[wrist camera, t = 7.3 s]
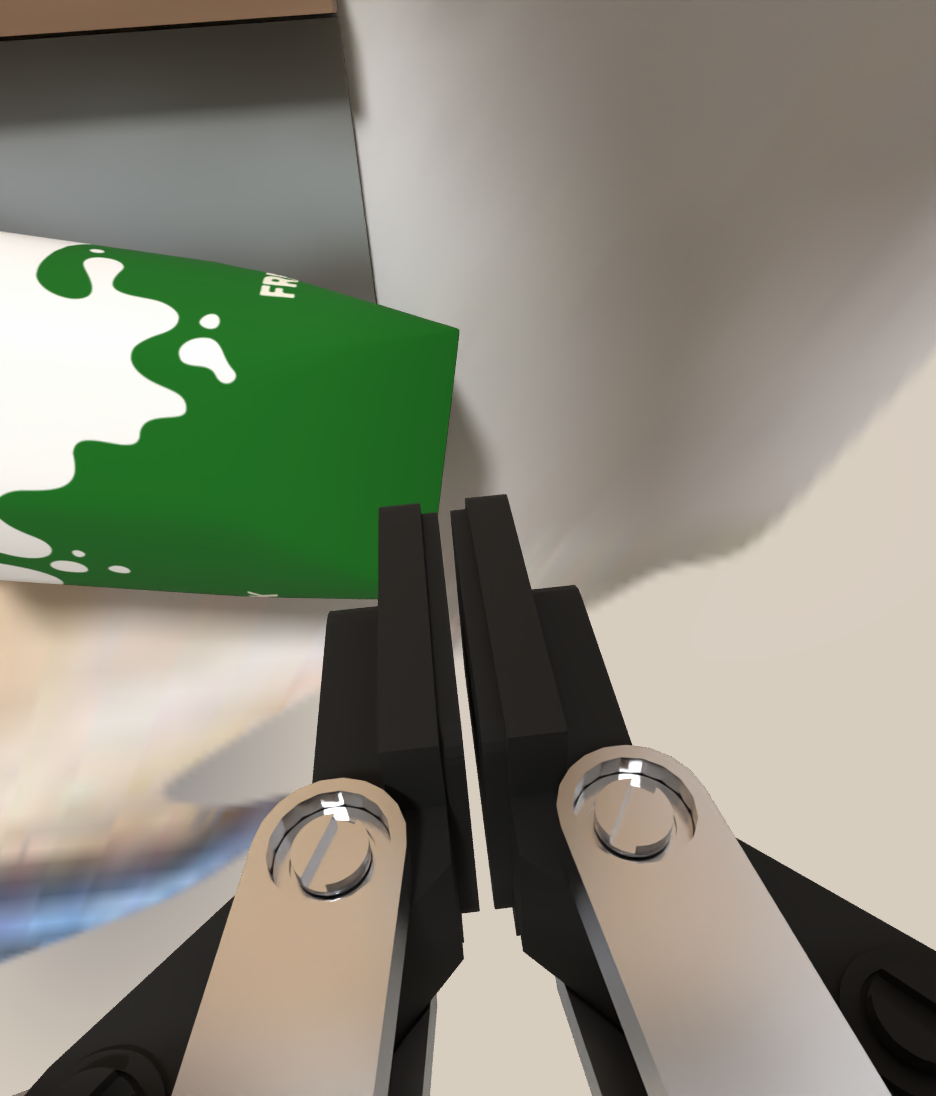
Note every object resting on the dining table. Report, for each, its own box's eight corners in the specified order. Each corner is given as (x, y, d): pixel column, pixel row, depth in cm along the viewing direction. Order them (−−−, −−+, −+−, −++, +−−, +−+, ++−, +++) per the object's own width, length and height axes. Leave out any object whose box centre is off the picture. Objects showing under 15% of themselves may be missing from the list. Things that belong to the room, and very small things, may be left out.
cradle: (-407, -25, 18) (-505, -30, 16) (326, -74, 19) (320, -84, 17) (-79, 530, 28) (-114, 570, 26) (399, 483, 29) (400, 518, 27)
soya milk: (472, 287, 17) (-604, 132, 14) (428, 651, 20) (-499, 599, 16) (433, 300, 25) (-242, 206, 22) (405, 554, 28) (-207, 505, 24)
